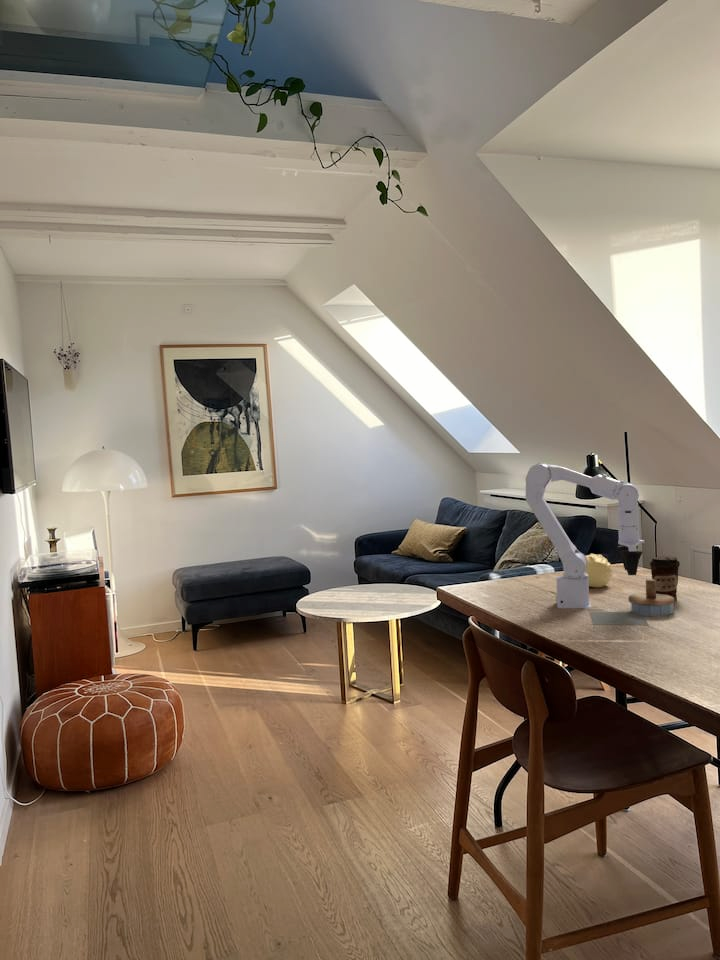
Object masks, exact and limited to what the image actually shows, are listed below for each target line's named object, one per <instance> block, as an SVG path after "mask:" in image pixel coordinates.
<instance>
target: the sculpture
mask: <svg viewBox="0 0 720 960" xmlns="http://www.w3.org/2000/svg"><path fill="white" fill-rule="evenodd" d="M585 557H586V558H587V566H586V568H585V572H586V573H587V574H588V583H589V588H590V587H591V588H603V587H605V586H606V585H608V584H609V582H610V580H611V578H612V576H613V575H612V573H613V569H612V564H611V563H610V562H609V561H608V559H607V558H605V557H604V556H603V555H602V554H595V553H590V554H587V555H585Z"/></svg>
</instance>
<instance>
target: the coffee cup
mask: <svg viewBox="0 0 720 960" xmlns="http://www.w3.org/2000/svg"><path fill="white" fill-rule="evenodd" d="M651 559H652V560H651V561H650V562H649V566H650V570H651V573H650V574H651V579H653V580H656V594H664V595H669V596H672V597H674V602H677V601H678V598H677V589H678V583H679V568H680V564H681V562H680V561H679V560H678V557H676V556H656V557H652V558H651Z"/></svg>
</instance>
